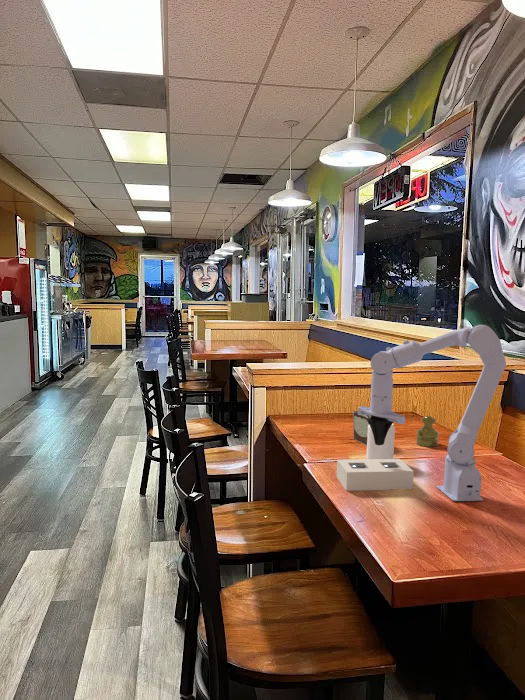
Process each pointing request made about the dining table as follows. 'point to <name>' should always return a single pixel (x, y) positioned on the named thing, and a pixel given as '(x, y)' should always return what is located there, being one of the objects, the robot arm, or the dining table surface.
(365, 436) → the food container
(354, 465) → the peg
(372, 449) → the beverage can
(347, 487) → the bore block
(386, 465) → the peg
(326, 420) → the dining table surface
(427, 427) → the olive green tiered piece
